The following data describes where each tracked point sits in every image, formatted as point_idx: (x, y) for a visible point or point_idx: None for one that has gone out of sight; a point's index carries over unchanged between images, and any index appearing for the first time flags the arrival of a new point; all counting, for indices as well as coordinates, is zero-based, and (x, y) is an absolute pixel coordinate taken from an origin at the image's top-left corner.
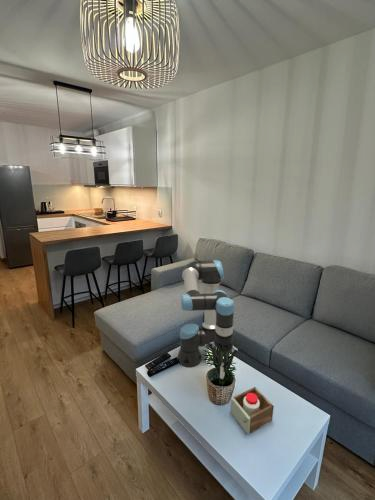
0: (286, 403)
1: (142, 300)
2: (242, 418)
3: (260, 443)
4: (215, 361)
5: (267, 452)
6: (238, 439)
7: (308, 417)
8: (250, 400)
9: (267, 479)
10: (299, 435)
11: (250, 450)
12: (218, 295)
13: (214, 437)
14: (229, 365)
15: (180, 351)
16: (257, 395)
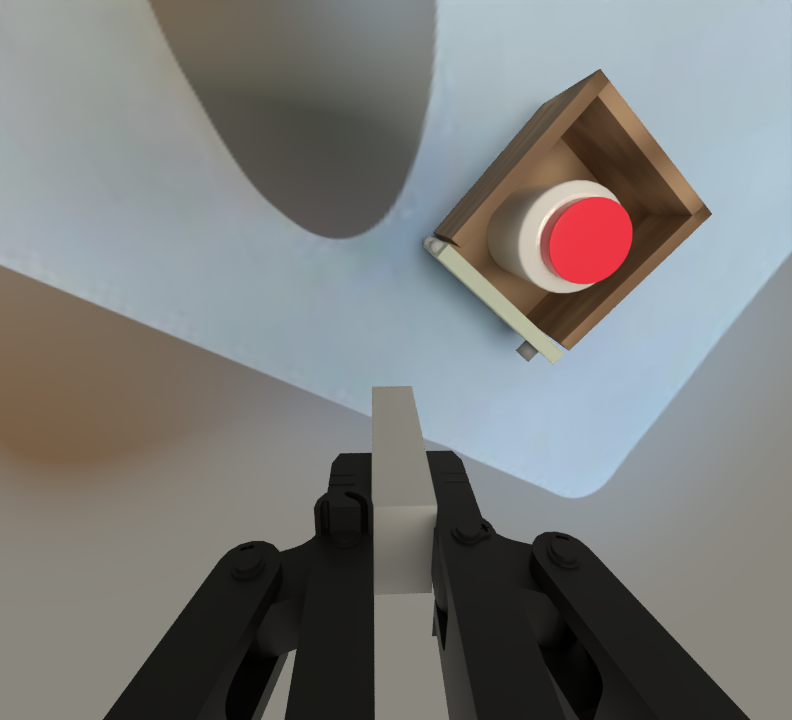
0: (741, 44)
1: None
2: (505, 321)
3: (571, 350)
4: (254, 672)
5: (596, 375)
6: (480, 367)
7: None
8: (580, 274)
9: (588, 459)
10: (749, 247)
11: (531, 391)
12: None
13: None
14: (566, 655)
15: None
16: (600, 127)
